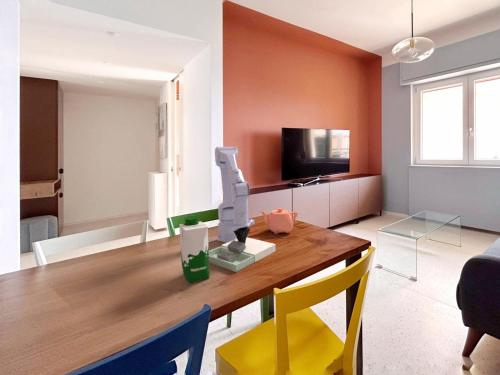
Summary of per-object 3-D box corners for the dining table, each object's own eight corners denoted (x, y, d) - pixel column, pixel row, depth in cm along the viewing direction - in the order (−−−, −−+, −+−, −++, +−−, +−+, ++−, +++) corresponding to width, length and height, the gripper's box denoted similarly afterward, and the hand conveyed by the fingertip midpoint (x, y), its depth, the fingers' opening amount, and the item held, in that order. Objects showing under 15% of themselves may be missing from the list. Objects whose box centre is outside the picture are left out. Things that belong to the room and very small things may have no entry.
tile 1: (224, 251, 106) (224, 257, 106) (217, 254, 103) (217, 260, 103) (235, 255, 102) (235, 261, 103) (228, 258, 99) (228, 264, 99)
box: (202, 260, 105) (201, 253, 105) (220, 252, 113) (220, 246, 113) (236, 272, 94) (236, 265, 94) (254, 262, 102) (254, 256, 101)
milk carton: (204, 268, 98) (201, 214, 95) (213, 278, 90) (210, 220, 87) (180, 274, 93) (176, 218, 91) (186, 285, 86) (183, 224, 83)
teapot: (257, 228, 145) (257, 206, 144) (293, 226, 148) (293, 205, 146) (262, 236, 132) (261, 212, 130) (301, 234, 135) (301, 210, 133)
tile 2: (228, 250, 108) (227, 245, 107) (235, 244, 111) (233, 240, 110) (239, 254, 104) (238, 249, 103) (246, 248, 107) (244, 243, 106)
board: (221, 251, 113) (221, 245, 113) (243, 242, 124) (242, 236, 124) (255, 262, 102) (254, 254, 102) (275, 251, 113) (275, 244, 112)
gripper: (236, 217, 99) (237, 252, 101) (259, 210, 111) (260, 242, 112) (222, 215, 104) (223, 249, 106) (246, 208, 115) (247, 239, 117)
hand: (241, 245), depth 109 cm, fingers closed
